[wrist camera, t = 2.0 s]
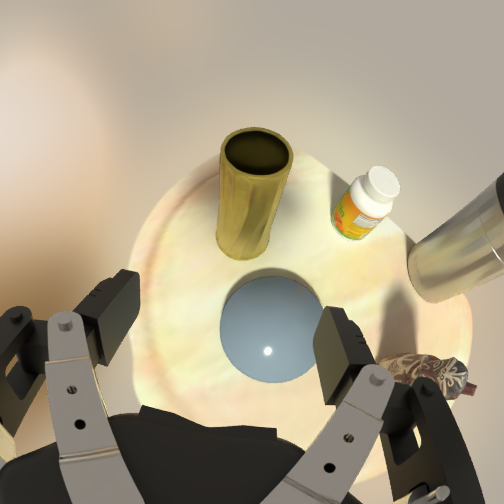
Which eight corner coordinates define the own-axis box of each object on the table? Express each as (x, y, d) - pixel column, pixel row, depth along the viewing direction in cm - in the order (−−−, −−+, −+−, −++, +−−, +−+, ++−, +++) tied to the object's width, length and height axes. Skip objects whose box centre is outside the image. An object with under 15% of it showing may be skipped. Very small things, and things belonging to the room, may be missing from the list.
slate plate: (313, 276, 31) (317, 271, 29) (328, 371, 27) (333, 372, 25) (215, 284, 29) (215, 280, 28) (225, 387, 25) (226, 389, 24)
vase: (205, 230, 31) (198, 142, 18) (246, 204, 33) (263, 114, 20) (237, 271, 30) (251, 199, 17) (279, 241, 32) (316, 160, 19)
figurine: (392, 342, 28) (463, 325, 17) (423, 374, 27) (493, 367, 16) (359, 389, 26) (428, 396, 15) (393, 420, 25) (463, 432, 14)
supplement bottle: (332, 200, 35) (361, 153, 26) (367, 212, 35) (403, 170, 26) (328, 235, 33) (362, 192, 24) (366, 247, 33) (407, 209, 24)
